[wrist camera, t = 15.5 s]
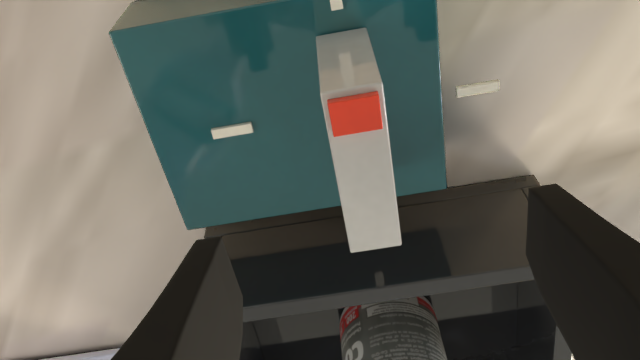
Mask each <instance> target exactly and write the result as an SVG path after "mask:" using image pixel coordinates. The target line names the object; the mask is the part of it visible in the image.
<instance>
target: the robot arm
mask: <svg viewBox="0 0 640 360" xmlns="http://www.w3.org/2000/svg"><path fill="white" fill-rule="evenodd" d="M526 256H527V259H528V262H529V265H530V268H531V270H532V273H533V276H534V279H535V281H536V284H537V286H538V289H539V292H540V294H541V296H542V298H543V300H544V302H545V303H546V305H547V307H548V309H549V311H550V313H551V315H552V317H553V319H554V321H555V323H556V324H557V326H558V328H559V330H560V332H561V334H562V336H563V338H564V339H565V341H566V343H567V345H568V347H569V349H570V351H571V353H572V354H573V356H574V358H575V360H640V243H639V242H638V241H636V240H634V239H633V238H631V237H630V236H628V235H627V234H625V233H624V232H622V231H621V230H619V229H618V228H617V227H615V226H614V225H612V224H611V223H609V222H608V221H607V220H605V219H604V218H602V217H601V216H599V215H598V214H597V213H595V212H594V211H593V210H591V209H590V208H588V207H587V206H586V205H584V204H583V203H582V202H580V201H579V200H578V199H576V198H575V197H574V196H572V195H571V194H570V193H568V192H567V191H565V190H564V189H563V188H561V187H560V186H559V185H557V184H551V185H544V186H538V187H532V188H529V193H528V215H527V236H526ZM242 334H243V295H242V293H241V290H240V287H239V284H238V282H237V279H236V276H235V273H234V270H233V268H232V265H231V262H230V259H229V256H228V254H227V251H226V248H225V245H224V242H223V240H222V237H214V238H208V239H202V240H196V242H195V243H194V244H193V246H192V247H191V249H190V250H189V252H188V253H187V255H186V257H185V258H184V260H183V261H182V263H181V264H180V266H179V267H178V269H177V271H176V272H175V274H174V275H173V277H172V278H171V280H170V281H169V283H168V284H167V286H166V287H165V289H164V290H163V292H162V293H161V295H160V296H159V297H158V299H157V300H156V302H155V303H154V305H153V306H152V308H151V309H150V310H149V312H148V313H147V315H146V316H145V317H144V318H143V320H142V321H141V322H140V324H139V325H138V326H137V328H136V329H135V330H134V332H133V333H132V334H131V336H130V337H129V338H128V339H127V341H126V342H125V343H124V344H123V346H122V347H121V348H116V349H109V350H102V351H95V352H88V353H81V354H75V355H68V356H61V357H54V358H47V359H40V360H239V358H240V351H241V343H242Z"/></svg>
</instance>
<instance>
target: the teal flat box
mask: <svg viewBox="0 0 640 360" xmlns="http://www.w3.org/2000/svg"><path fill="white" fill-rule="evenodd" d="M359 28H367V31H368V34H369V38H370V41H371V45H372V48H373V51H374V55H375V58H376V62H377V65H378V68H379V72H380V75H381V79H382V82H383V88H384V97H385V105H386V113H387V122H388V130H389V138H390V147H391V155H392V164H393V172H394V180H395V189H396V197H399V196H406V195H412V194H418V193H425V192H431V191H437V190H443V189H447V178H446V160H445V141H444V123H443V105H442V87H441V69H440V51H439V33H438V15H437V0H140V1H135V2H132V3H131V4H130V5H129V6H128V8H127V9H126V10H125V12H124V13H123V14H122V16H121V17H120V18H119V20H118V21H117V22H116V23H115V25H114V26H113V27H112V29H111V30H110V31H109V35H110V37H111V40H112V42H113V45H114V47H115V50H116V52H117V55H118V57H119V60H120V62H121V65H122V67H123V70H124V72H125V75H126V77H127V80H128V82H129V85H130V87H131V90H132V93H133V95H134V98H135V100H136V103H137V105H138V108H139V110H140V113H141V115H142V118H143V120H144V123H145V125H146V128H147V130H148V133H149V135H150V138H151V140H152V143H153V145H154V148H155V150H156V153H157V155H158V158H159V160H160V163H161V165H162V168H163V170H164V173H165V175H166V178H167V180H168V183H169V185H170V188H171V190H172V193H173V195H174V198H175V200H176V203H177V205H178V208H179V210H180V213H181V215H182V218H183V220H184V223H185V225H186V228H187V230H192V229H198V228H204V227H211V226H217V225H223V224H230V223H236V222H242V221H248V220H255V219H261V218H267V217H274V216H280V215H286V214H292V213H299V212H305V211H311V210H318V209H324V208H330V207H336V206H341V202H340V196H339V191H338V186H337V181H336V175H335V170H334V165H333V160H332V154H331V149H330V144H329V139H328V134H327V128H326V123H325V118H324V113H323V107H322V102H321V97H320V88H319V75H318V63H317V50H316V37H317V36H321V35H326V34H332V33H337V32H343V31H348V30H354V29H359ZM499 90H500V81H499V80H498V79H497V80H491V81H486V82H480V83H474V84H468V85H462V86H456V97H457V98H460V97H466V96H472V95H478V94H484V93H490V92H496V91H499Z"/></svg>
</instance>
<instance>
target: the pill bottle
mask: <svg viewBox="0 0 640 360" xmlns="http://www.w3.org/2000/svg"><path fill="white" fill-rule="evenodd" d="M340 339H341V351H342V360H447V357H446V353H445V350H444V346H443V342H442V338H441V334H440V330H439V327H438V322H437V319H436V315H435V312H434V309H433V307H432V306H431V304H430V302H429V301H428V300H427V299H426V298H425V297H424V296H420V297H413V298H407V299H400V300H393V301H386V302H379V303H373V304H366V305H359V306H352V307H345V309H344V310H343V312H342V315H341V318H340Z"/></svg>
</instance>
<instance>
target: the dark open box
mask: <svg viewBox="0 0 640 360" xmlns="http://www.w3.org/2000/svg"><path fill="white" fill-rule="evenodd" d="M538 186H540V184H539V182H538V181H537V179H536V178H535V176H534V175H529V176H523V177H516V178H510V179H504V180H497V181H491V182H485V183H479V184H472V185H466V186H460V187H453V188H447V189H443V190H437V191H431V192H425V193H418V194H412V195H406V196H399V197H397V205H398V214H399V222H400V231H401V239H402V245H400V246H394V247H387V248H381V249H374V250H367V251H361V252H354V253H351V252H350V249H349V243H348V238H347V233H346V228H345V223H344V217H343V212H342V207H341V206H336V207H330V208H324V209H318V210H311V211H305V212H299V213H292V214H286V215H280V216H274V217H267V218H261V219H255V220H248V221H242V222H236V223H230V224H223V225H217V226H211V227H206V231H205V236H204V239H208V238H214V237H222V240H223V242H224V245H225V248H226V251H227V254H228V256H229V259H230V262H231V265H232V268H233V270H234V273H235V276H236V279H237V282H238V284H239V287H240V290H241V293H242V295H243V334H242V343H241V351H240V358H239V360H342V351H341V339H340V318H341V315H342V312H343V310H344V309H345V307H352V306H359V305H366V304H373V303H379V302H386V301H393V300H400V299H407V298H413V297H420V296H424V297H425V298H426V299H427V300H428V301H429V302H430V304H431V306H432V307H433V309H434V312H435V315H436V319H437V322H438V327H439V330H440V334H441V338H442V342H443V346H444V350H445V353H446V357H447V360H572V353H571V351H570V349H569V347H568V345H567V343H566V341H565V339H564V338H563V336H562V334H561V332H560V330H559V328H558V326H557V324H556V323H555V321H554V319H553V317H552V315H551V313H550V311H549V309H548V307H547V305H546V303H545V302H544V300H543V298H542V296H541V294H540V292H539V289H538V286H537V284H536V281H535V279H534V276H533V273H532V270H531V268H530V265H529V262H528V259H527V256H526V236H527V215H528V193H529V188H532V187H538Z"/></svg>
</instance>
